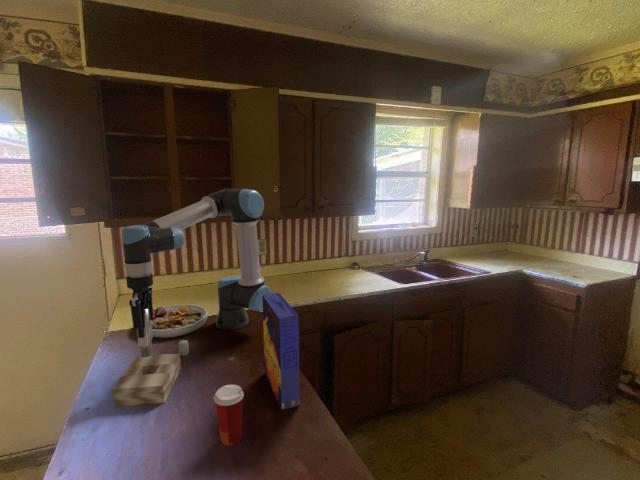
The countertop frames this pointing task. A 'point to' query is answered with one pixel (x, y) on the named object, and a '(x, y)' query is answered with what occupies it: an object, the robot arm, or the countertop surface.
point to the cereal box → (281, 349)
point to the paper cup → (229, 413)
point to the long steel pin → (147, 350)
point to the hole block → (147, 380)
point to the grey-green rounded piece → (183, 348)
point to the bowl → (177, 320)
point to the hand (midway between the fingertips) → (145, 342)
